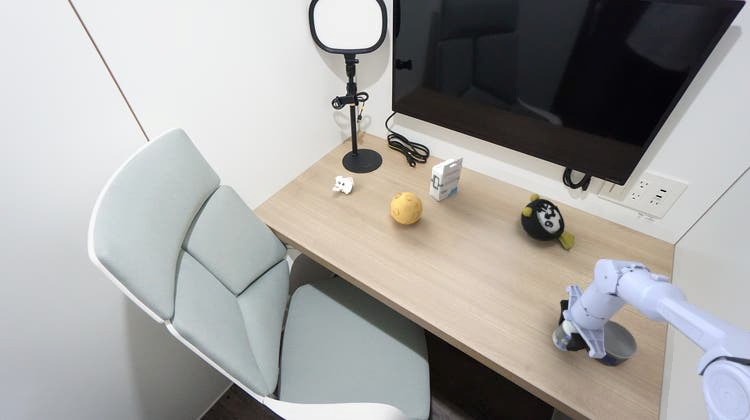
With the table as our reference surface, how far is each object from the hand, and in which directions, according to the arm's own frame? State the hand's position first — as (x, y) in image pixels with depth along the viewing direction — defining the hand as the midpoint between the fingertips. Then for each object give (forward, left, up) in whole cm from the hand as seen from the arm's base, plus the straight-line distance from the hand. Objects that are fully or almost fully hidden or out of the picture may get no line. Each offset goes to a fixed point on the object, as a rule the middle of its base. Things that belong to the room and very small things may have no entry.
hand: (567, 337), depth 68 cm
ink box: (+55, 0, -4) cm, 55 cm away
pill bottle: (0, 0, -2) cm, 2 cm away
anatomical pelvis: (+70, +31, -4) cm, 77 cm away
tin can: (-4, -8, -3) cm, 10 cm away
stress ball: (+48, +17, -4) cm, 51 cm away
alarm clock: (+28, -18, -4) cm, 34 cm away
